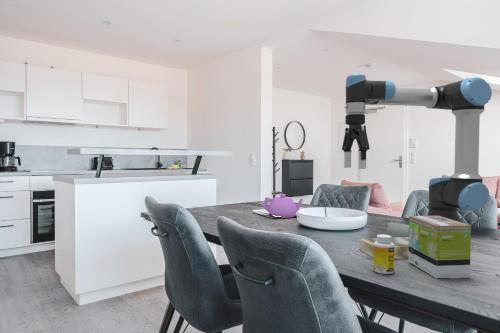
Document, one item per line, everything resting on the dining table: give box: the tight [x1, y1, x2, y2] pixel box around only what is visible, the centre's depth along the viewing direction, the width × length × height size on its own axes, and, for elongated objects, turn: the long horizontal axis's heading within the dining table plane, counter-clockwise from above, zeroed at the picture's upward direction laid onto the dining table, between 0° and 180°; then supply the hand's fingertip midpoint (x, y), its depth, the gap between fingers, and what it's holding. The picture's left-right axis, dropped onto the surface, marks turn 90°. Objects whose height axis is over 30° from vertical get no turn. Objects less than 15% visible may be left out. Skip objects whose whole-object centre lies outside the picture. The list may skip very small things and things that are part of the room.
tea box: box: [408, 215, 472, 279], centre depth 104 cm, size 15×10×15 cm, turn 5°
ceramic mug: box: [386, 221, 409, 237], centre depth 138 cm, size 11×8×8 cm
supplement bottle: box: [372, 234, 395, 275], centre depth 103 cm, size 6×6×10 cm
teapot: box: [262, 193, 304, 219], centre depth 198 cm, size 22×16×12 cm
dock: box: [359, 237, 409, 260], centre depth 122 cm, size 18×12×4 cm, turn 99°
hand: (354, 168), depth 144 cm, fingers open, 13 cm apart
